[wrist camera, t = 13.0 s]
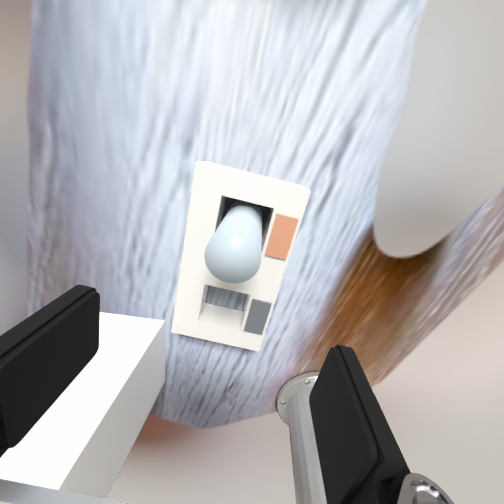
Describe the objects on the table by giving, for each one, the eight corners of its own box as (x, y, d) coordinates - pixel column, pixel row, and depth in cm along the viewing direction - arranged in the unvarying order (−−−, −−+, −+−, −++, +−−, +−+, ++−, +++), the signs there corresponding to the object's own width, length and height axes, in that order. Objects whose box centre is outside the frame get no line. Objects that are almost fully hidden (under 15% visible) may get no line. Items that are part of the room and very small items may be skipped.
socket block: (259, 330, 34) (258, 353, 30) (181, 312, 34) (170, 333, 30) (304, 186, 27) (311, 191, 23) (205, 160, 26) (194, 161, 22)
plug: (267, 226, 29) (269, 272, 18) (236, 238, 29) (219, 290, 18) (254, 194, 27) (247, 222, 16) (222, 208, 28) (194, 243, 17)
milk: (164, 320, 34) (-71, 714, 10) (165, 380, 39) (0, 758, 14) (79, 309, 34) (-362, 678, 10) (89, 370, 39) (-205, 732, 14)
